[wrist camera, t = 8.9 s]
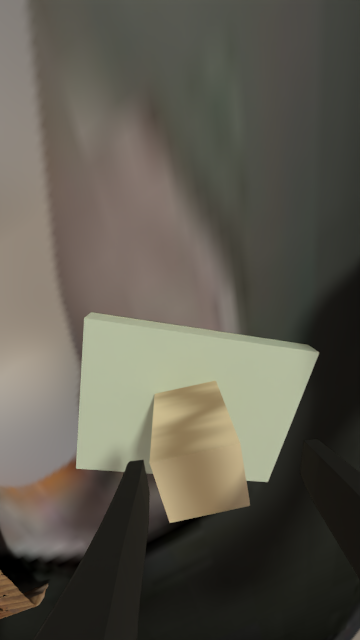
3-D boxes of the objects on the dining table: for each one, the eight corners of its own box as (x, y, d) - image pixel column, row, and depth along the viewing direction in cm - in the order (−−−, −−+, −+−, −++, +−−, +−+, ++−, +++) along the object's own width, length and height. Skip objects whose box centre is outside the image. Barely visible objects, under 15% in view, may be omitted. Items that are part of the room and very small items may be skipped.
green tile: (307, 344, 19) (319, 352, 17) (261, 467, 23) (267, 482, 21) (91, 312, 17) (84, 318, 15) (82, 453, 21) (76, 468, 19)
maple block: (215, 380, 18) (240, 443, 12) (224, 429, 19) (250, 505, 13) (154, 393, 18) (149, 463, 12) (168, 441, 19) (169, 522, 13)
